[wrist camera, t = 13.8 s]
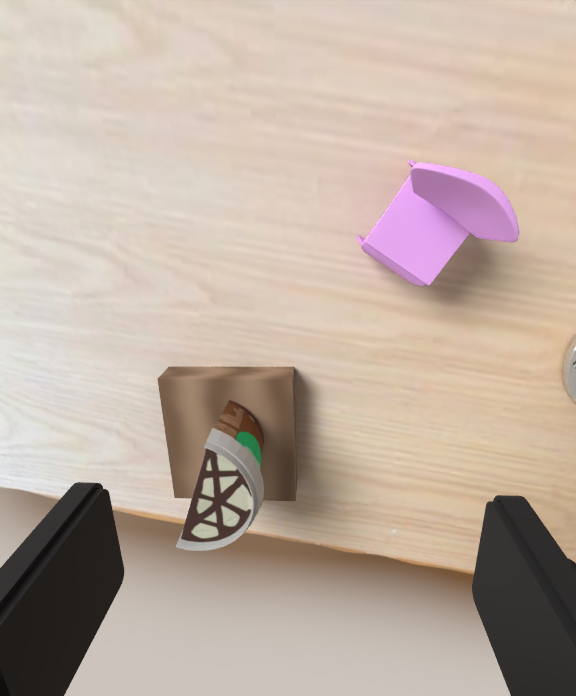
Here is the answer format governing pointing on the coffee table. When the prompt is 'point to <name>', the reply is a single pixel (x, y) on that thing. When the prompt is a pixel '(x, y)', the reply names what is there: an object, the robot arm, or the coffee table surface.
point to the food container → (226, 482)
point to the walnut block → (206, 408)
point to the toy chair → (438, 220)
